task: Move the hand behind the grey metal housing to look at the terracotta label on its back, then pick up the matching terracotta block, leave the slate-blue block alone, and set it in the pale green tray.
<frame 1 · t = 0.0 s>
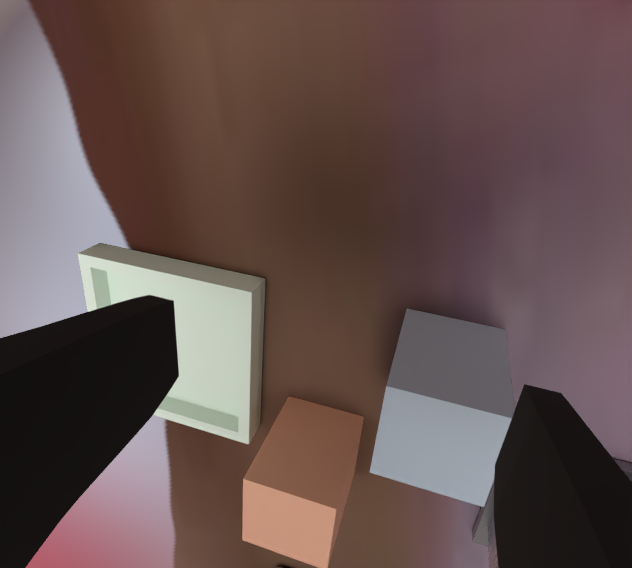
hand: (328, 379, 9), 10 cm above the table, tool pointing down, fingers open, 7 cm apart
tray: (183, 337, 24), on the table
slate block: (444, 357, 20), on the table
terracotta block: (322, 434, 24), on the table
housing: (602, 517, 21), on the table
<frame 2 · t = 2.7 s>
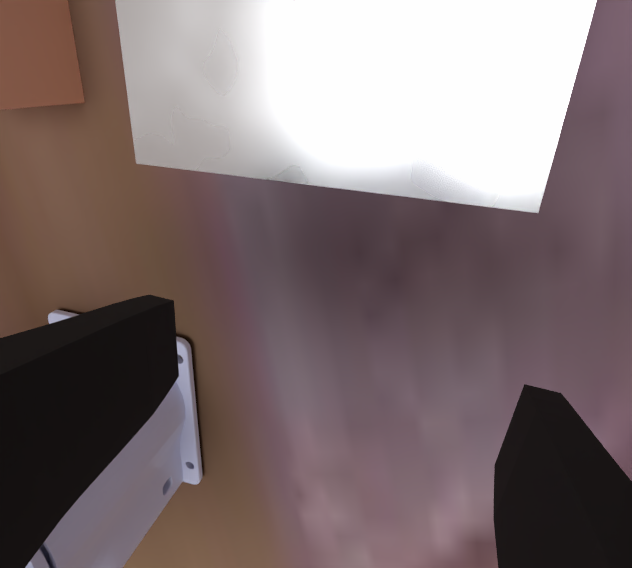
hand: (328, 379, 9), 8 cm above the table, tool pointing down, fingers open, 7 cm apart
terracotta block: (33, 43, 17), on the table
housing: (377, 60, 14), on the table
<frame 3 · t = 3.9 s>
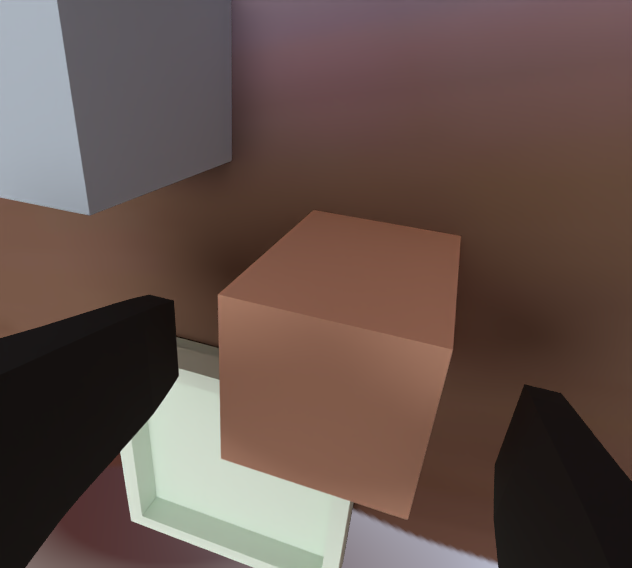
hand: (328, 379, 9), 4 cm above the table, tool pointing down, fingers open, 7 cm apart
tray: (243, 449, 17), on the table
slate block: (165, 75, 12), on the table
terracotta block: (374, 287, 13), on the table
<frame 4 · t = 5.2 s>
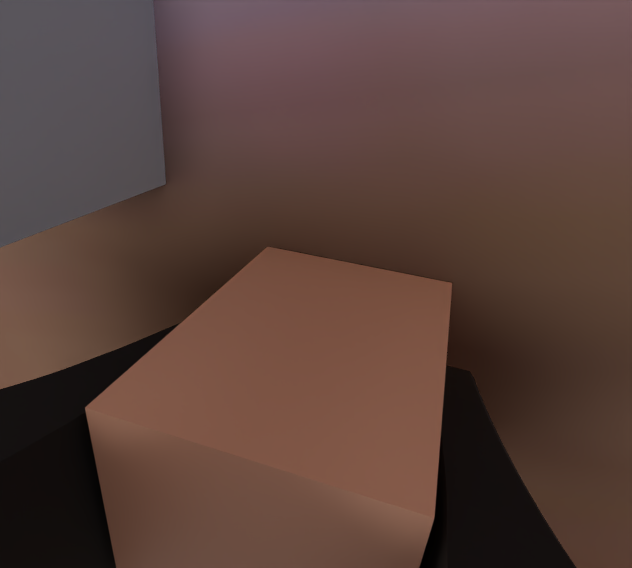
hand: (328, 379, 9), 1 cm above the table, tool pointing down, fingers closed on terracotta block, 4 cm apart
slate block: (78, 77, 10), on the table
terracotta block: (345, 342, 10), on the table, touching gripper
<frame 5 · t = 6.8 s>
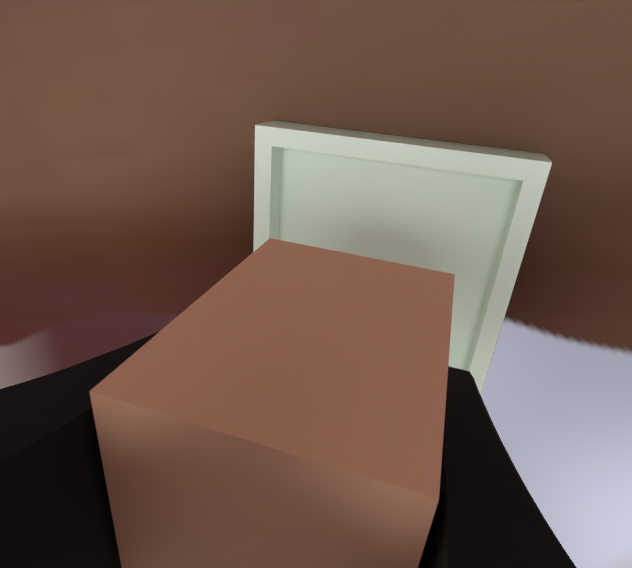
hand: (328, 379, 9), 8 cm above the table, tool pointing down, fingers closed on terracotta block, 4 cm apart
tray: (380, 260, 17), on the table
terracotta block: (347, 334, 10), point 7 cm above the table, touching gripper
when the fingers open (4 cm above the table, at t = 8.5 s): terracotta block drops 2 cm, resting on tray.
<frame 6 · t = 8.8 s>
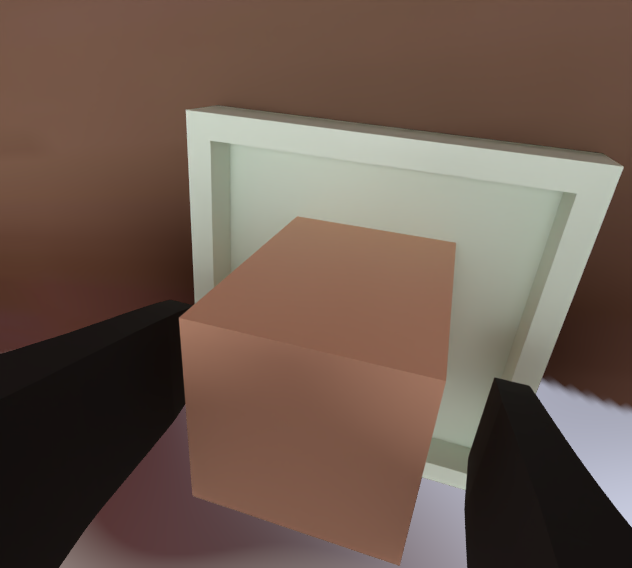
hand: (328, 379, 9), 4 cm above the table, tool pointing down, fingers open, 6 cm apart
tray: (366, 295, 13), on the table
terracotta block: (363, 299, 12), resting on tray
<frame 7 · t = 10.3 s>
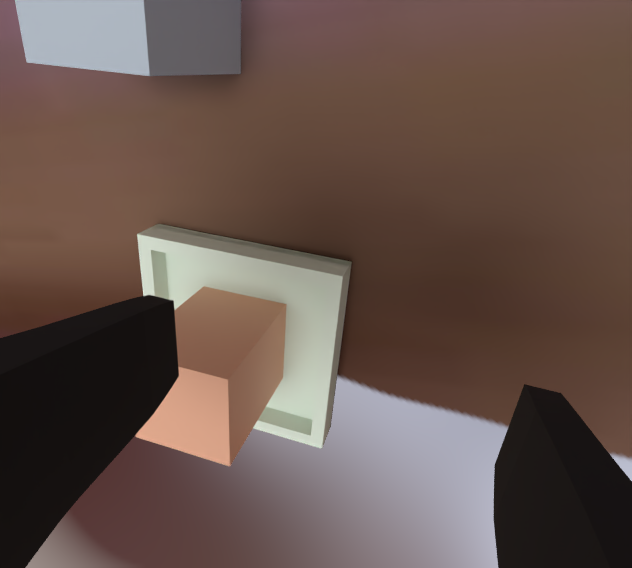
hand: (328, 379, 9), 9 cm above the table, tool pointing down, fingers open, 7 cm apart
tray: (248, 330, 21), on the table
slate block: (190, 7, 16), on the table
terracotta block: (244, 333, 21), resting on tray
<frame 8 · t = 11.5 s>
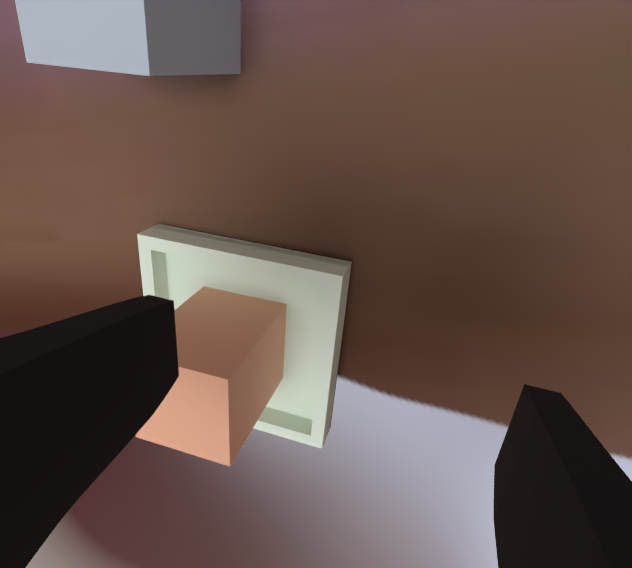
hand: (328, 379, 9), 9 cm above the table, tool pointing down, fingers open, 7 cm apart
tray: (248, 330, 21), on the table
slate block: (190, 7, 16), on the table
terracotta block: (244, 333, 21), resting on tray
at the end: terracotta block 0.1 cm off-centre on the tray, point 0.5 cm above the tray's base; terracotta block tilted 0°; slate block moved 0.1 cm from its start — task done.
